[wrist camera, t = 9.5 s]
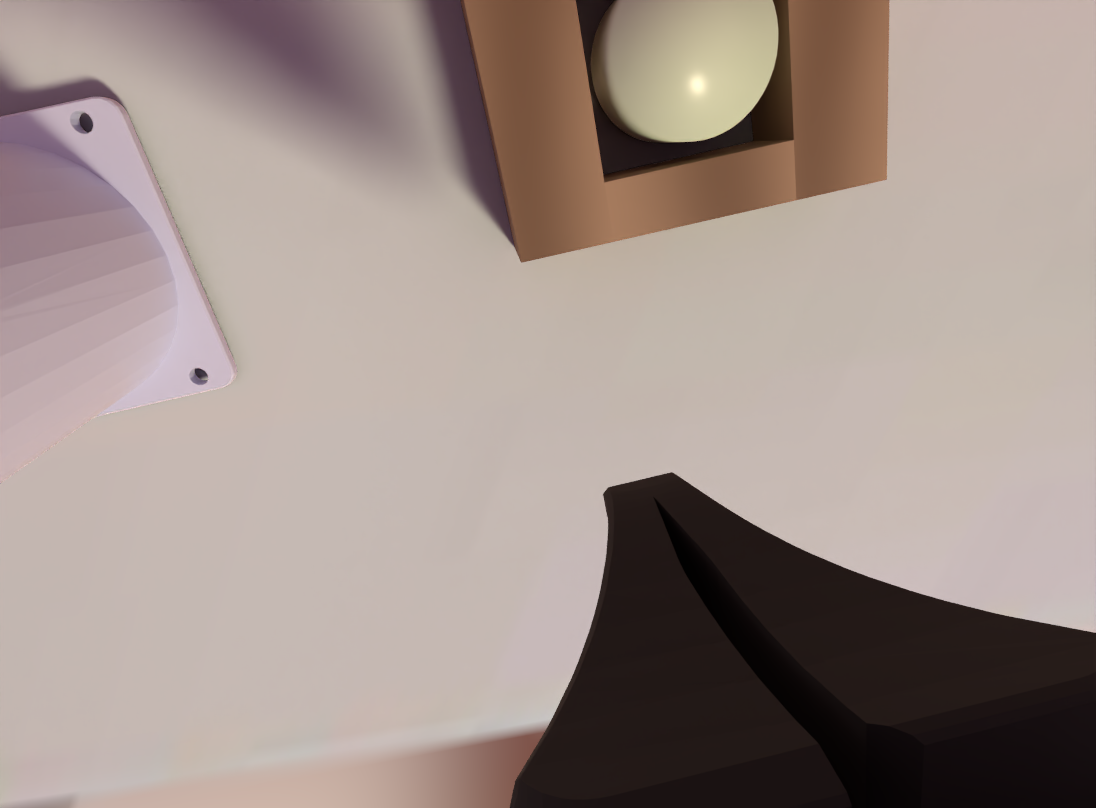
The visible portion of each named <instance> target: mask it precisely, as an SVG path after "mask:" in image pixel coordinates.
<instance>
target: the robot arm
mask: <svg viewBox="0 0 1096 808" xmlns="http://www.w3.org/2000/svg"><path fill="white" fill-rule="evenodd" d="M84 112H85V113H86V114H88V115H89V116H90V118H91V119H92V121H93V129H92V131H91V132H89V133H88V132H86V131H84V130H83V128H82V127H81V126H80V121H79V118H80V116H81V114H82V113H84ZM195 368H200V369H202V370H204V371H205V372H206V373H207V374H208V380H201V379H199V378H198V377H197V376H196V374H195ZM236 375H237V367H236V364H235V361H234V359H233V357H232V354H231V352H230V350H229V347H228V345H227V343H226V340H225V338H224V336H223V333H222V331H221V329H220V326H219V324H218V322H217V320H216V317H215V315H214V313H213V310H212V308H211V306H210V303H209V301H208V299H207V296H206V294H205V292H204V289H203V287H202V285H201V282H200V280H199V278H198V275H197V273H196V271H195V268H194V266H193V264H192V262H191V259H190V257H189V255H188V252H187V250H186V248H185V245H184V243H183V241H182V238H181V236H180V234H179V231H178V229H177V227H176V224H175V222H174V220H173V217H172V215H171V213H170V210H169V208H168V206H167V204H166V201H165V199H164V197H163V194H162V192H161V190H160V187H159V185H158V183H157V180H156V178H155V176H154V173H153V171H152V169H151V166H150V164H149V162H148V159H147V157H146V155H145V152H144V150H143V148H142V145H141V143H140V141H139V139H138V136H137V134H136V132H135V129H134V127H133V125H132V122H131V120H130V118H129V115H128V114H127V112H126V110H125V109H124V107H123V106H122V105H120V104H119V103H118V102H117V101H115V100H113V99H110V98H107V97H89V98H84V99H79V100H75V101H70V102H65V103H61V104H56V105H52V106H47V107H42V108H38V109H33V110H29V111H24V112H19V113H15V114H10V115H5V116H1V117H0V484H1V483H2V482H3V481H5V480H6V479H8V478H9V477H10V476H12V475H13V474H15V473H16V472H18V471H19V470H20V469H22V468H23V467H25V466H26V465H27V464H29V463H30V462H32V461H33V460H35V459H36V458H37V457H39V456H40V455H42V454H43V453H44V452H46V451H47V450H49V449H50V448H52V447H53V446H54V445H56V444H57V443H59V442H60V441H61V440H63V439H64V438H66V437H67V436H68V435H70V434H71V433H73V432H74V431H76V430H77V429H78V428H80V427H81V426H83V425H84V424H85V423H87V422H88V421H90V420H91V419H93V418H94V417H97V416H101V415H106V414H110V413H114V412H119V411H123V410H128V409H132V408H136V407H141V406H145V405H149V404H154V403H158V402H162V401H167V400H171V399H175V398H180V397H184V396H188V395H193V394H197V393H201V392H206V391H210V390H215V389H219V388H223V387H225V386H228V385H229V384H230V383H231V382H232V381H233V380H234V379H235V378H236ZM603 496H604V501H605V506H606V512H607V517H608V541H607V554H606V562H605V567H604V573H603V579H602V585H601V590H600V594H599V599H598V603H597V607H596V610H595V614H594V617H593V621H592V624H591V628H590V631H589V634H588V637H587V639H586V642H585V645H584V648H583V651H582V654H581V656H580V659H579V662H578V664H577V667H576V669H575V671H574V674H573V676H572V679H571V681H570V683H569V685H568V687H567V689H566V691H565V693H564V695H563V697H562V699H561V701H560V703H559V706H558V708H557V710H556V712H555V714H554V716H553V718H552V720H551V722H550V724H549V725H548V727H547V729H546V731H545V733H544V734H543V736H542V738H541V739H540V741H539V743H538V744H537V746H536V748H535V749H534V751H533V753H532V754H531V756H530V758H529V759H528V761H527V763H526V764H525V766H524V768H523V769H522V771H521V773H520V774H519V776H518V777H517V779H516V781H515V785H514V790H513V794H512V799H511V804H510V808H1096V633H1093V632H1088V631H1083V630H1077V629H1072V628H1067V627H1062V626H1056V625H1051V624H1046V623H1041V622H1035V621H1030V620H1025V619H1020V618H1014V617H1009V616H1004V615H1000V614H995V613H991V612H987V611H983V610H979V609H975V608H971V607H967V606H963V605H959V604H955V603H951V602H947V601H943V600H940V599H937V598H933V597H930V596H926V595H923V594H919V593H916V592H912V591H909V590H906V589H903V588H900V587H897V586H894V585H891V584H888V583H885V582H882V581H879V580H876V579H873V578H870V577H867V576H865V575H862V574H859V573H857V572H854V571H851V570H849V569H846V568H844V567H841V566H839V565H836V564H834V563H832V562H829V561H827V560H825V559H822V558H820V557H817V556H815V555H813V554H810V553H808V552H806V551H804V550H802V549H800V548H797V547H795V546H793V545H791V544H789V543H787V542H785V541H783V540H782V539H780V538H778V537H776V536H774V535H772V534H770V533H768V532H766V531H764V530H762V529H761V528H759V527H757V526H755V525H753V524H752V523H750V522H748V521H747V520H745V519H743V518H742V517H740V516H738V515H737V514H735V513H733V512H732V511H730V510H728V509H727V508H725V507H724V506H722V505H721V504H719V503H717V502H716V501H714V500H713V499H711V498H710V497H708V496H707V495H705V494H704V493H702V492H701V491H699V490H698V489H696V488H695V487H693V486H692V485H691V484H689V483H688V482H686V481H685V480H683V479H682V478H680V477H679V476H677V475H675V474H674V473H672V472H671V473H667V474H663V475H659V476H654V477H650V478H646V479H642V480H638V481H633V482H629V483H625V484H621V485H617V486H612V487H608V488H607V490H606V491H605V492H604V494H603Z"/></svg>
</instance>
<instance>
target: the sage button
mask: <svg viewBox="0 0 1096 808" xmlns="http://www.w3.org/2000/svg"><path fill="white" fill-rule="evenodd" d="M777 49H778V22H777V15H776V10H775V6H774V3H773V0H614V2H613V3H612V4H611V5H610V6H609V8H608V9H607V11H606V12H605V14H604V16H603V18H602V20H601V21H600V23H599V26H598V28H597V31H596V34H595V37H594V41H593V45H592V53H591V75H592V82H593V86H594V90H595V93H596V96H597V99H598V101H599V103H600V105H601V107H602V109H603V110H604V112H605V113H606V115H607V116H608V118H609V119H610V120H611V121H612V122H613V123H614V124H615V125H616V126H617V127H618V128H619V129H620V130H622V131H623V132H625V133H626V134H628V135H630V136H632V137H634V138H636V139H639V140H642V141H646V142H653V143H669V142H694V141H701V140H706V139H709V138H712V137H715V136H717V135H720V134H722V133H724V132H726V131H727V130H729V129H731V128H732V127H734V126H735V125H736V124H737V123H739V122H740V121H741V120H742V119H743V118H744V117H745V116H746V115H747V114H748V113H749V112H750V111H751V110H752V109H753V107H754V106H755V105H756V104H757V102H758V101H759V99H760V98H761V96H762V94H763V93H764V91H765V89H766V87H767V85H768V83H769V80H770V78H771V75H772V72H773V69H774V65H775V61H776V57H777Z"/></svg>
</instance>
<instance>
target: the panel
mask: <svg viewBox="0 0 1096 808" xmlns="http://www.w3.org/2000/svg"><path fill="white" fill-rule="evenodd" d="M460 1H461V5H462V10H463V14H464V19H465V23H466V28H467V32H468V37H469V41H470V46H471V51H472V55H473V60H474V64H475V69H476V73H477V78H478V82H479V87H480V91H481V96H482V100H483V105H484V109H485V114H486V118H487V123H488V127H489V132H490V136H491V141H492V146H493V150H494V155H495V159H496V164H497V168H498V173H499V177H500V182H501V186H502V191H503V195H504V200H505V204H506V209H507V213H508V218H509V222H510V227H511V231H512V236H513V241H514V245H515V249H516V251H517V254H518V256H519V258H520V261H521V263H522V262H526V261H531V260H535V259H539V258H544V257H548V256H553V255H557V254H561V253H566V252H570V251H575V250H579V249H583V248H588V247H592V246H597V245H601V244H605V243H610V242H614V241H619V240H623V239H627V238H632V237H636V236H640V235H645V234H649V233H654V232H658V231H662V230H667V229H671V228H676V227H680V226H684V225H689V224H693V223H698V222H702V221H706V220H711V219H715V218H720V217H724V216H728V215H733V214H737V213H742V212H746V211H750V210H755V209H759V208H764V207H768V206H772V205H777V204H781V203H786V202H790V201H794V200H799V199H803V198H808V197H812V196H816V195H821V194H825V193H830V192H834V191H838V190H843V189H847V188H852V187H856V186H860V185H865V184H869V183H873V182H878V181H882V180H887V118H888V50H889V0H773V3H774V6H775V10H776V15H777V22H778V49H777V57H776V61H775V65H774V69H773V72H772V75H771V78H770V80H769V83H768V85H767V87H766V89H765V91H764V93H763V94H762V96H761V98H760V99H759V101H758V102H757V104H756V105H755V106H754V107H753V109H752V110H751V115H752V131H753V141H752V142H747V143H743V144H739V145H734V146H730V147H725V148H721V149H716V150H712V151H707V152H703V153H698V154H694V155H690V156H685V157H681V158H676V159H672V160H667V161H663V162H658V163H654V164H649V165H645V166H641V167H636V168H632V169H627V170H623V171H618V172H614V173H609V174H605V175H603V170H602V164H601V158H600V151H599V145H598V139H597V132H596V126H595V119H594V113H593V107H592V100H591V94H590V88H589V81H588V75H587V69H586V62H585V56H584V50H583V43H582V37H581V31H580V24H579V18H578V12H577V5H576V0H460Z"/></svg>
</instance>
